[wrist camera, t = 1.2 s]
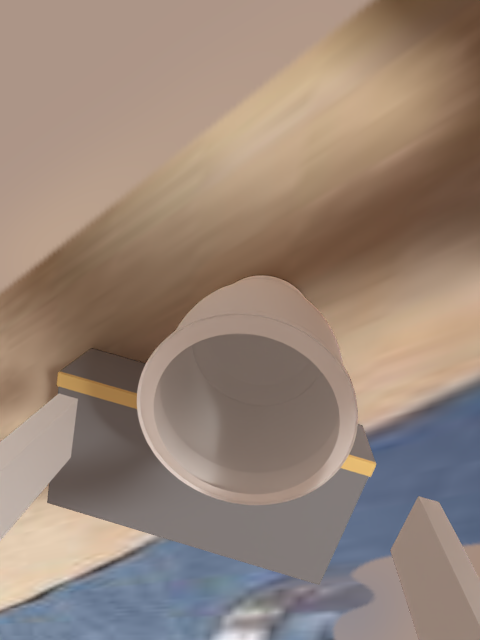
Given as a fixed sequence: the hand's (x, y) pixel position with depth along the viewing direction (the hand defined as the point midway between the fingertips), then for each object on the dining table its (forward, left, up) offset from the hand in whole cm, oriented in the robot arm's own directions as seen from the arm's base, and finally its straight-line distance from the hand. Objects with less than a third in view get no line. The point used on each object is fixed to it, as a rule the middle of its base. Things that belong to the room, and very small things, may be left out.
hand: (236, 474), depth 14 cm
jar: (0, 0, -19) cm, 19 cm away
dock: (+2, +14, -19) cm, 23 cm away
